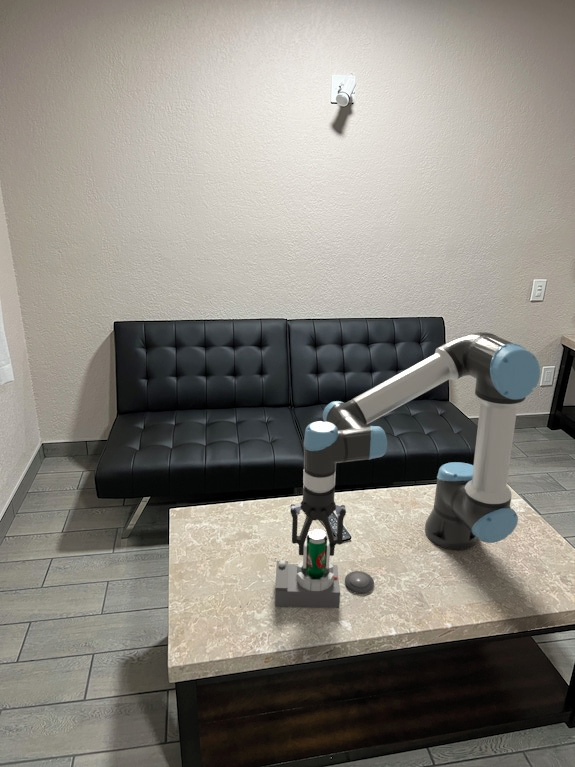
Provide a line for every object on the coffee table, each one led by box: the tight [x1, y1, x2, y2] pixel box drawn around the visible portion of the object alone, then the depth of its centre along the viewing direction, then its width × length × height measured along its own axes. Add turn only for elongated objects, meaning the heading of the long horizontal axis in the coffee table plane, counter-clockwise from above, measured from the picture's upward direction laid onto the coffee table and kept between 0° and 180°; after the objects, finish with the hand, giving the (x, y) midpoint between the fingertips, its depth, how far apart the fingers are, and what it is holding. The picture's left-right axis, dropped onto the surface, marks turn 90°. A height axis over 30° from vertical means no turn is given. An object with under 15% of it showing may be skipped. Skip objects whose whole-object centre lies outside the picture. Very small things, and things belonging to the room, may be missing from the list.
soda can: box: [306, 528, 328, 579], centre depth 134 cm, size 5×5×12 cm
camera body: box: [274, 559, 341, 609], centre depth 137 cm, size 16×10×8 cm, turn 89°
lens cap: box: [344, 570, 375, 595], centre depth 142 cm, size 8×8×1 cm
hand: (315, 564), depth 135 cm, fingers closed on soda can, 5 cm apart
